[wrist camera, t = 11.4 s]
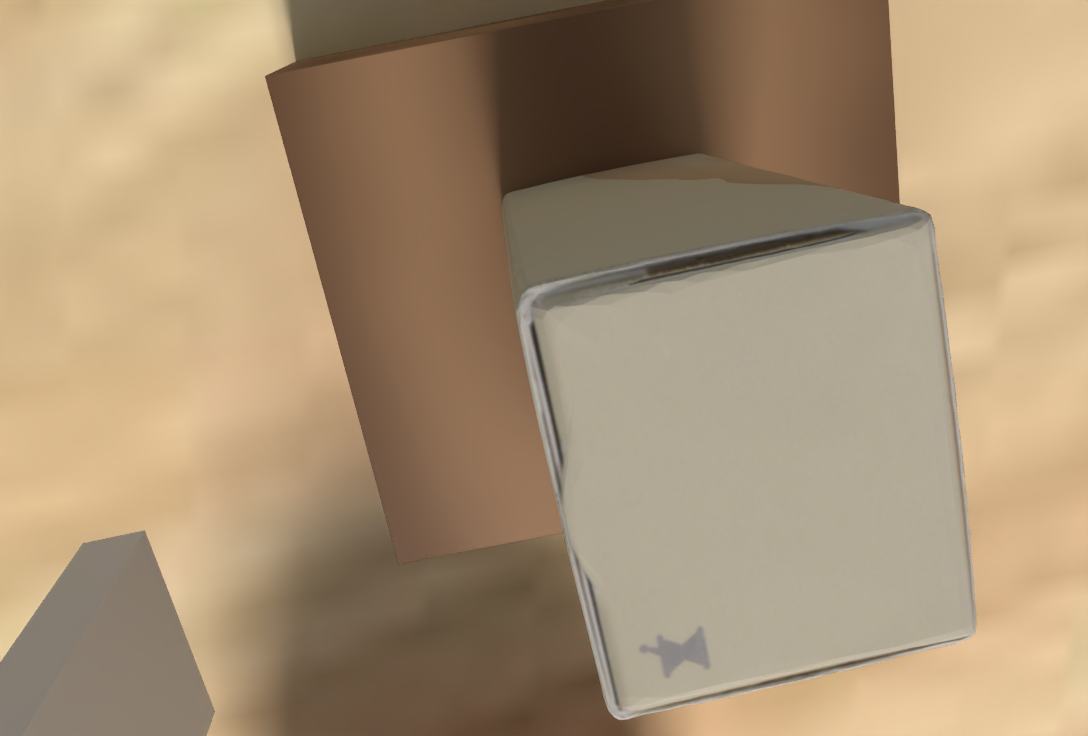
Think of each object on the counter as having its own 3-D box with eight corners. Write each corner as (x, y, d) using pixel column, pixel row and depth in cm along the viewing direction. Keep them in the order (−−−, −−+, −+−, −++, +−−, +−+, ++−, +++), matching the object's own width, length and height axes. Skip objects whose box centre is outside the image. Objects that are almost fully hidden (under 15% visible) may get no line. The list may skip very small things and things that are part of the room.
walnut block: (410, 483, 27) (398, 564, 24) (299, 59, 23) (264, 76, 20) (854, 398, 27) (914, 465, 23) (820, -43, 23) (885, -46, 19)
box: (741, 382, 22) (991, 671, 11) (544, 424, 22) (607, 754, 11) (702, 135, 20) (947, 200, 10) (491, 180, 20) (506, 294, 10)
